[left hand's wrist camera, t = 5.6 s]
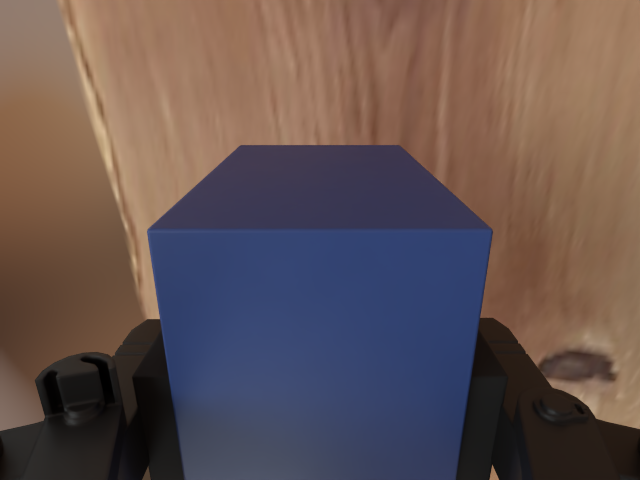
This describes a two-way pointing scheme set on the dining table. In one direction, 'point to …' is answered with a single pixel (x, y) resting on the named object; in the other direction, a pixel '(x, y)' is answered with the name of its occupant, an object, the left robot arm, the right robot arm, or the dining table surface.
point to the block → (319, 315)
